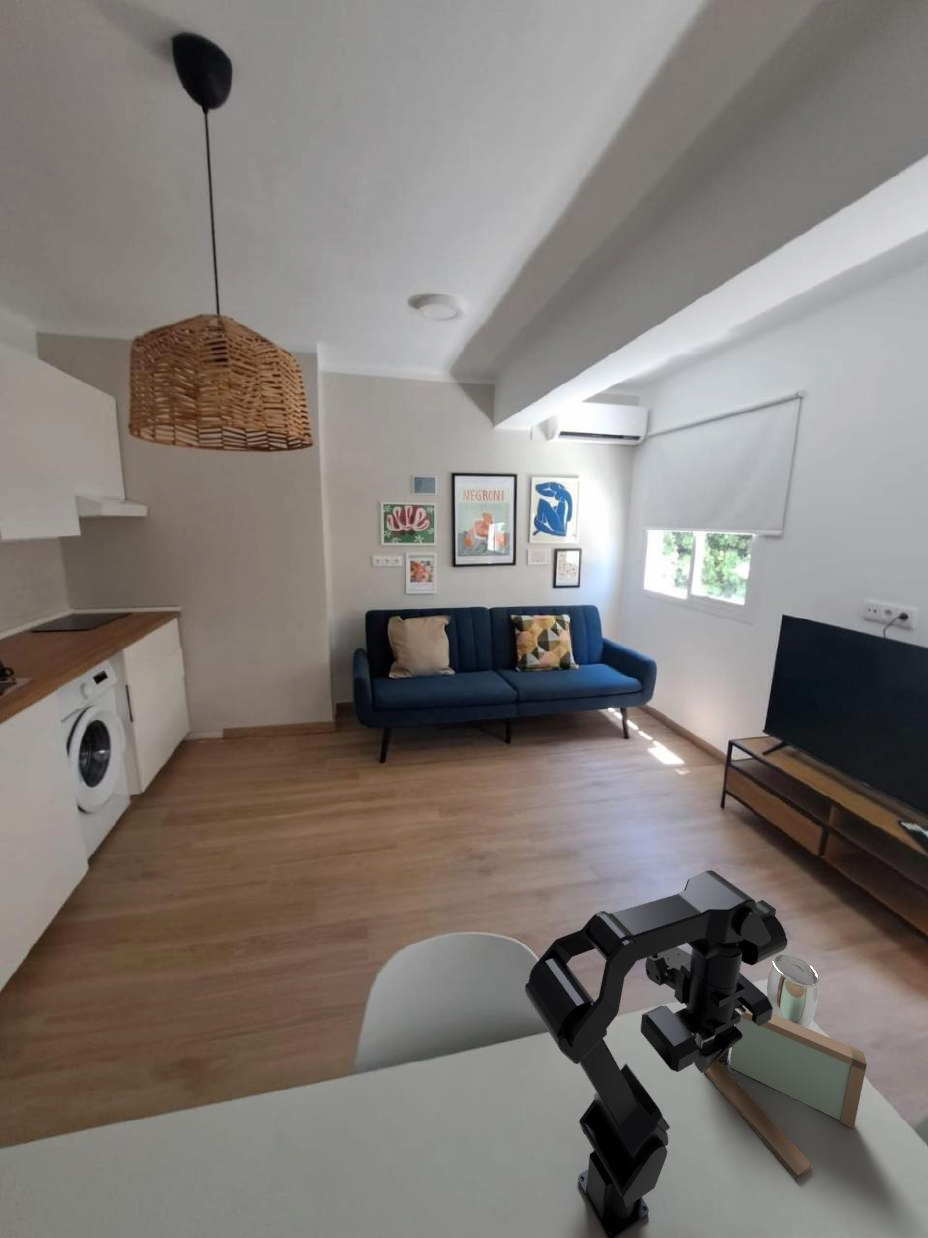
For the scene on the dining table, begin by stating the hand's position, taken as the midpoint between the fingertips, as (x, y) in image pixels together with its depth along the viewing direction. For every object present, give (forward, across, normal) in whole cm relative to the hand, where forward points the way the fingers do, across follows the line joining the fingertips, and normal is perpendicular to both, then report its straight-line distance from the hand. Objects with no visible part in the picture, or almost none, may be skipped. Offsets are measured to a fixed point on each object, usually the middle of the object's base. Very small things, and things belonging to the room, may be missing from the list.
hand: (700, 1068), depth 67 cm
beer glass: (+13, -27, -4) cm, 30 cm away
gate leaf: (+13, -20, +1) cm, 24 cm away
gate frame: (+13, -13, -1) cm, 19 cm away
